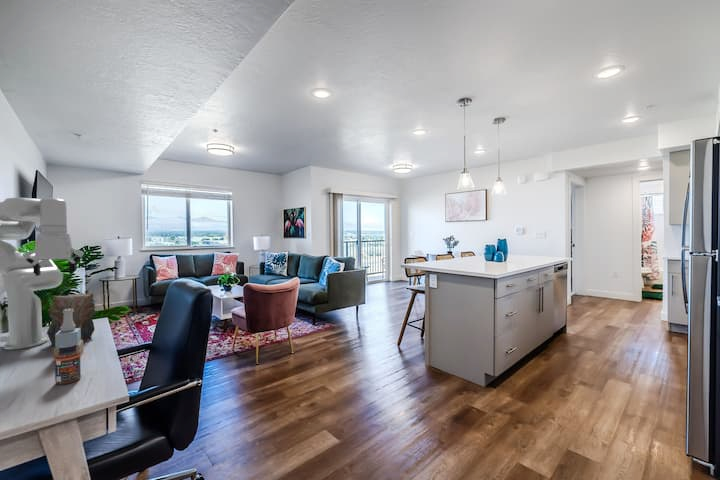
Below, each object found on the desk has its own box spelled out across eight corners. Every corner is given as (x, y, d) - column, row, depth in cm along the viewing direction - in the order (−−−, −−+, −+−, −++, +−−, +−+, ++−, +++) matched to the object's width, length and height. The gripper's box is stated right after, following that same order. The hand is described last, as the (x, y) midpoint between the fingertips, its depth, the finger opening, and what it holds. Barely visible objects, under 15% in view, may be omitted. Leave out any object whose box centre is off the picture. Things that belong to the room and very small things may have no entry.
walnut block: (54, 362, 114) (53, 349, 114) (59, 356, 120) (58, 343, 120) (79, 358, 118) (79, 345, 118) (83, 352, 124) (83, 339, 124)
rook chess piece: (57, 332, 116) (57, 310, 116) (62, 329, 120) (63, 308, 120) (73, 331, 117) (73, 309, 118) (78, 328, 122) (78, 307, 122)
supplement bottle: (59, 387, 95) (57, 350, 95) (52, 382, 99) (51, 346, 98) (84, 379, 100) (83, 344, 100) (77, 375, 104) (76, 340, 103)
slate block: (55, 348, 114) (55, 334, 114) (59, 343, 119) (59, 330, 119) (77, 345, 118) (77, 331, 117) (80, 340, 123) (80, 327, 122)
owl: (45, 345, 131) (43, 297, 131) (77, 335, 144) (75, 291, 143) (71, 347, 129) (69, 298, 129) (101, 337, 142) (99, 292, 141)
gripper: (18, 230, 116) (20, 277, 116) (81, 230, 125) (82, 273, 126) (25, 230, 122) (27, 275, 123) (84, 230, 132) (85, 271, 132)
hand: (55, 274), depth 124 cm, fingers open, 9 cm apart
